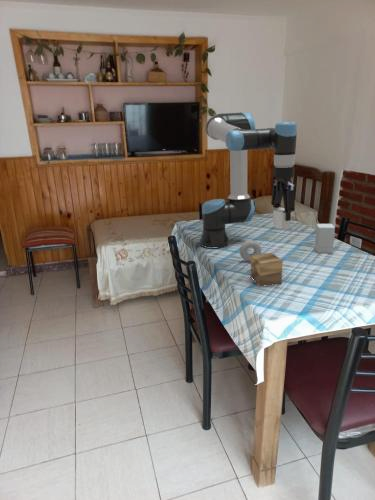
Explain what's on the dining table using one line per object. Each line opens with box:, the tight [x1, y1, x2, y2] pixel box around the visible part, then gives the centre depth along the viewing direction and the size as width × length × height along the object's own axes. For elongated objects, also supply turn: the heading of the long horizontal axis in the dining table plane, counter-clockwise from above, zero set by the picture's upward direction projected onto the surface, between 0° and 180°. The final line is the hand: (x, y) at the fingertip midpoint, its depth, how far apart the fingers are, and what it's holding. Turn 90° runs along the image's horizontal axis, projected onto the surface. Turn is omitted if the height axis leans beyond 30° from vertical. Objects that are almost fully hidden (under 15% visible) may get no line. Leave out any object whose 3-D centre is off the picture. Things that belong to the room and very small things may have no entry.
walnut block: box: [250, 267, 283, 287], centre depth 139 cm, size 9×9×5 cm
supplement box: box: [314, 223, 336, 254], centre depth 167 cm, size 7×7×13 cm
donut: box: [239, 239, 263, 262], centre depth 159 cm, size 10×4×10 cm, turn 93°
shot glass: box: [272, 207, 285, 230], centre depth 136 cm, size 7×7×7 cm
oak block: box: [250, 252, 284, 276], centre depth 137 cm, size 9×9×5 cm
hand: (281, 225), depth 137 cm, fingers closed on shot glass, 7 cm apart
